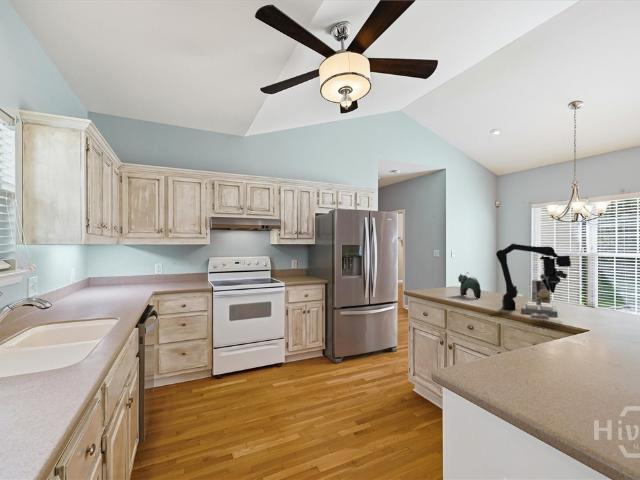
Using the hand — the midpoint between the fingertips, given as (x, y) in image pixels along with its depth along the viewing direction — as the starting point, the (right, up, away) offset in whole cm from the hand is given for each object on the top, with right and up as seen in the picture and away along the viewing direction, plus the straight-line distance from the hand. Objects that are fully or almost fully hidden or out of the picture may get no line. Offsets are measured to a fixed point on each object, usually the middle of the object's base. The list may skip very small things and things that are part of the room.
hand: (550, 291), depth 187 cm
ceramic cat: (-21, -14, +58) cm, 63 cm away
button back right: (0, -11, +4) cm, 11 cm away
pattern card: (-13, -13, -8) cm, 20 cm away
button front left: (-10, -11, +2) cm, 15 cm away
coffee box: (+16, -14, +30) cm, 37 cm away
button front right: (-4, -11, -2) cm, 12 cm away
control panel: (-5, -13, +3) cm, 15 cm away
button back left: (-6, -11, +8) cm, 15 cm away
